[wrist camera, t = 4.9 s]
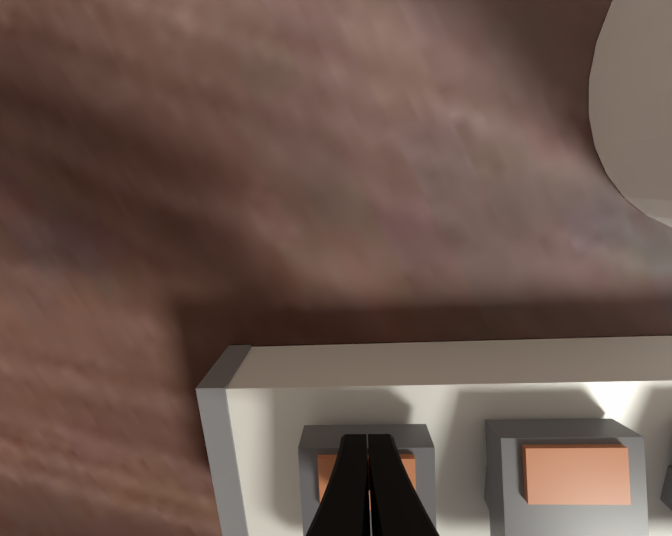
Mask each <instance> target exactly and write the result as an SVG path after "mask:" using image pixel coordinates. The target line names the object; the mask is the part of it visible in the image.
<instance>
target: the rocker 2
mask: <svg viewBox="0 0 672 536" xmlns="http://www.w3.org/2000/svg"><path fill="white" fill-rule="evenodd" d="M485 429H486V451H487V472H488V494H489V516H490V536H649V525H648V506H647V487H646V468H645V449H644V437H643V436H641V435H640V434H638V433H636V432H634V431H633V430H631V429H629V428H627V427H626V426H624V425H622V424H621V423H619V422H617V421H615V420H614V419H612V418H605V419H520V420H485Z"/></svg>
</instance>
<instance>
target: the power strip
mask: <svg viewBox="0 0 672 536" xmlns="http://www.w3.org/2000/svg"><path fill="white" fill-rule="evenodd" d="M195 389H196V394H197V400H198V405H199V411H200V416H201V421H202V427H203V432H204V438H205V443H206V449H207V454H208V460H209V465H210V470H211V476H212V481H213V487H214V492H215V498H216V503H217V509H218V514H219V519H220V525H221V530H222V536H303V522H302V506H301V490H300V475H299V459H298V446H299V442H300V439H301V435H302V431H303V428H304V425H369V424H426V425H427V428H428V431H429V433H430V436H431V439H432V442H433V444H434V447H435V487H436V530H437V532H438V534H439V535H440V536H490V516H489V494H488V472H487V451H486V429H485V420H520V419H605V418H612V419H614V420H615V421H617V422H619V423H621V424H622V425H624V426H626V427H627V428H629V429H631V430H633V431H634V432H636V433H638V434H640V435H641V436H643V437H644V449H645V468H646V487H647V506H648V525H649V536H672V336H637V337H599V338H562V339H525V340H488V341H450V342H413V343H376V344H339V345H301V346H264V347H252V346H251V345H229V346H228V347H227V348H226V349H225V351H224V352H223V353H222V355H221V356H220V357H219V359H218V360H217V361H216V362H215V364H214V365H213V366H212V368H211V369H210V370H209V372H208V373H207V374H206V375H205V377H204V378H203V379H202V381H201V382H200V383H199V385H198V386H197V387H196V388H195Z"/></svg>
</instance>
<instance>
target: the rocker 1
mask: <svg viewBox="0 0 672 536" xmlns="http://www.w3.org/2000/svg"><path fill="white" fill-rule="evenodd" d="M345 434H366V436H367V456H368V482H369V507H370V532H371V536H372V524H371V503H370V479H369V453H368V434H390V435H391V436H393V437H394V441H395V444H396V447H397V450H398V453H399V455H400V458H401V460H402V463H403V465H404V467H405V470H406V472H407V474H408V476H409V478H410V481H411V483H412V485H413V487H414V489H415V491H416V493H417V495H418V497H419V499H420V501H421V502H422V504H423V506H424V508H425V510H426V512H427V514H428V516H429V518H430V519H431V521H432V523H433V525H434V527H435V528H436V487H435V447H434V444H433V442H432V439H431V436H430V433H429V431H428V428H427V425H426V424H369V425H304V428H303V431H302V435H301V439H300V442H299V446H298V459H299V475H300V490H301V506H302V522H303V536H306V534H307V532H308V529H309V527H310V525H311V523H312V521H313V518H314V516H315V514H316V512H317V509H318V507H319V505H320V502H321V500H322V497H323V495H324V492H325V489H326V487H327V484H328V482H329V479H330V476H331V473H332V470H333V467H334V464H335V461H336V458H337V454H338V450H339V446H340V441H341V437H342V436H343V435H345Z"/></svg>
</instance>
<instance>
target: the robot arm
mask: <svg viewBox="0 0 672 536" xmlns="http://www.w3.org/2000/svg"><path fill="white" fill-rule="evenodd" d="M368 453H369V479H370V503H371V524H372V536H440V535H439V534H438V532H437V530H436V528H435V527H434V525H433V523H432V521H431V519H430V518H429V516H428V514H427V512H426V510H425V508H424V506H423V504H422V502H421V501H420V499H419V497H418V495H417V493H416V491H415V489H414V487H413V485H412V483H411V481H410V478H409V476H408V474H407V472H406V470H405V467H404V465H403V463H402V460H401V458H400V455H399V453H398V450H397V447H396V444H395V441H394V437H393V436H391V435H390V434H368ZM306 536H371V532H370V507H369V482H368V456H367V436H366V434H345V435H343V436H342V437H341V441H340V446H339V450H338V454H337V458H336V461H335V464H334V467H333V470H332V473H331V476H330V479H329V482H328V484H327V487H326V489H325V492H324V495H323V497H322V500H321V502H320V505H319V507H318V509H317V512H316V514H315V516H314V518H313V521H312V523H311V525H310V527H309V529H308V532H307V534H306Z"/></svg>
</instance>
